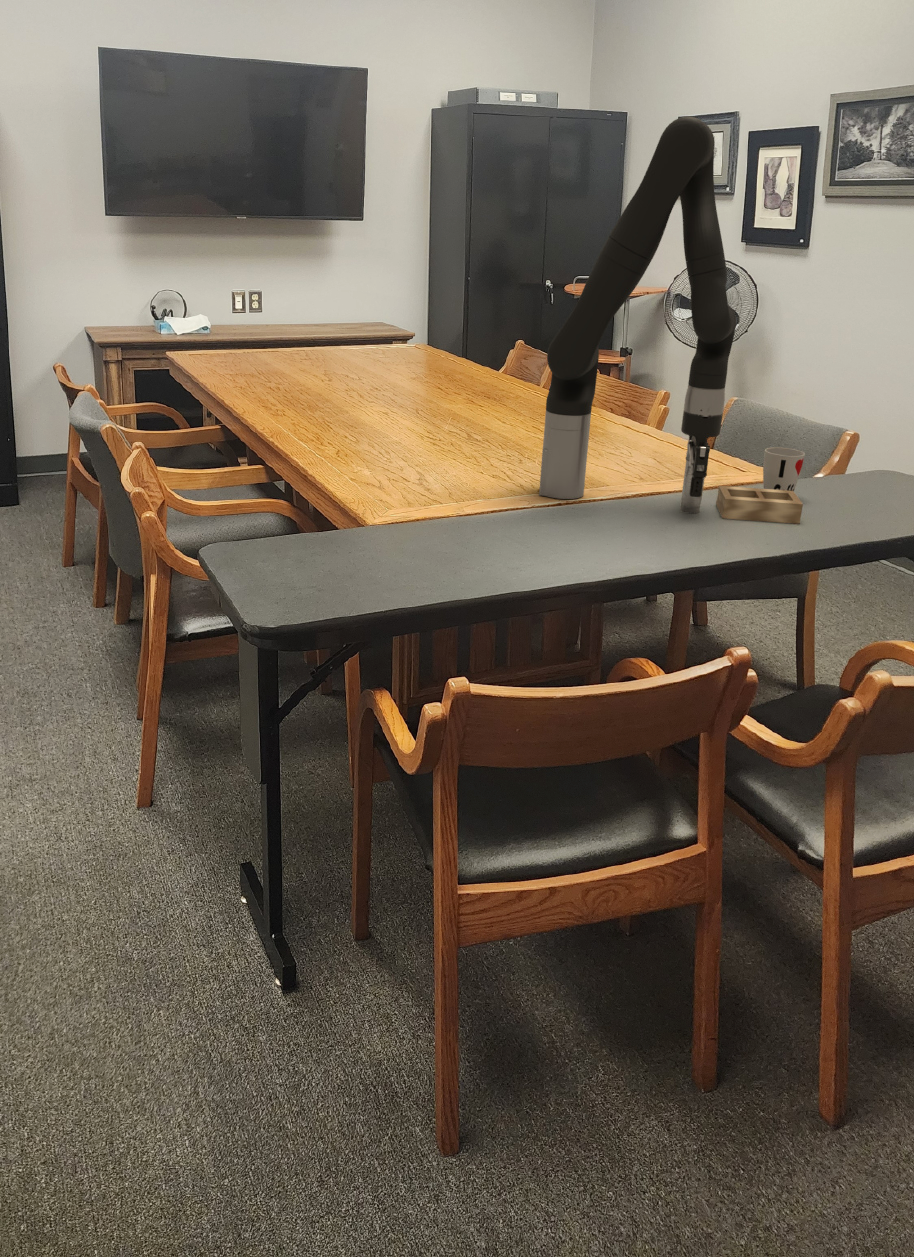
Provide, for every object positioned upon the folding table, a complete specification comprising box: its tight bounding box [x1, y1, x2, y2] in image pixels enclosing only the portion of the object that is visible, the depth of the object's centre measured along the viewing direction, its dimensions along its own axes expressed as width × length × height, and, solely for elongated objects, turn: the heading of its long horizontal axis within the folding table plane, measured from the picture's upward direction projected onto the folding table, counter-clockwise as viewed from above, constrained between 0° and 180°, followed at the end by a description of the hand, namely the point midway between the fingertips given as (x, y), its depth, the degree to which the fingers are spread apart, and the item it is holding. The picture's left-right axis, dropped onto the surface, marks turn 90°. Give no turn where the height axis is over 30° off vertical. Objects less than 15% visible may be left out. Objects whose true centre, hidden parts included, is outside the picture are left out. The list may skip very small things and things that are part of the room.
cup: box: [762, 447, 806, 492], centre depth 224 cm, size 8×8×10 cm
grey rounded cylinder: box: [679, 460, 705, 515], centre depth 212 cm, size 4×4×10 cm
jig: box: [715, 485, 804, 525], centre depth 213 cm, size 15×10×4 cm, turn 85°
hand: (692, 490), depth 212 cm, fingers open, 8 cm apart
